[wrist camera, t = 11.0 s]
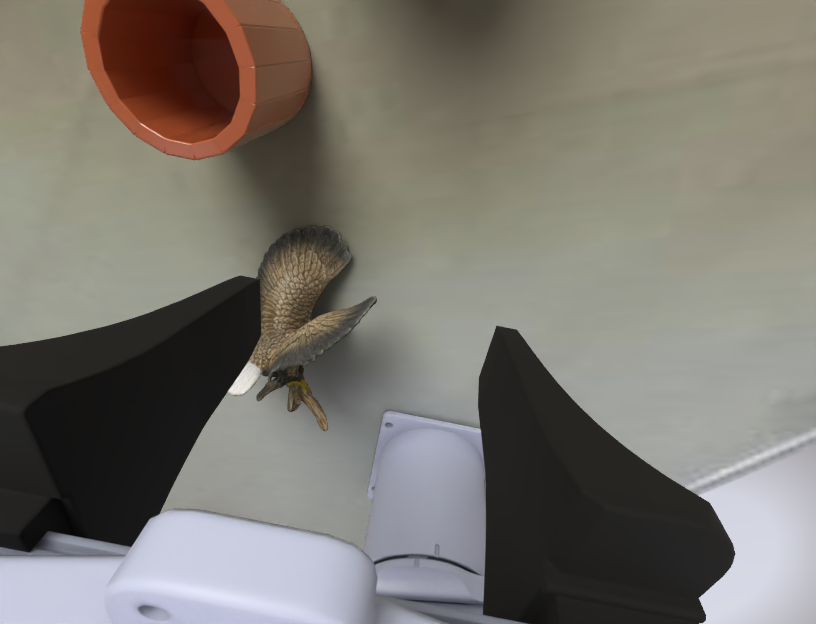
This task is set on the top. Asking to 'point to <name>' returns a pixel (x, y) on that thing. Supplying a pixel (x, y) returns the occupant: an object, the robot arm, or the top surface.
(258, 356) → the eagle figurine
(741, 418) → the top surface
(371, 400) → the top surface
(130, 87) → the pot
